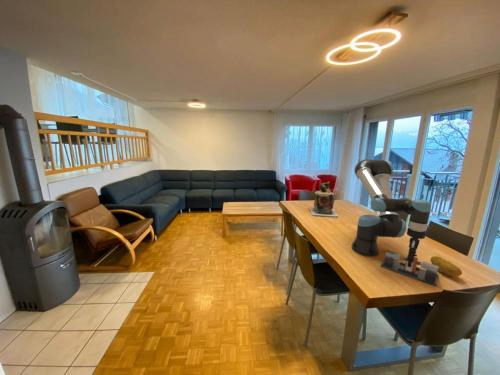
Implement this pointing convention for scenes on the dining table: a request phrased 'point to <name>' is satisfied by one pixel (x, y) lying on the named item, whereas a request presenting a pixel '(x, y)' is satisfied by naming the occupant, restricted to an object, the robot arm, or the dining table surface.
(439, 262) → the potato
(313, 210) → the cookie jar
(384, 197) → the robot arm
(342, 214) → the dining table surface
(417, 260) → the coupling
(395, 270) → the bench
